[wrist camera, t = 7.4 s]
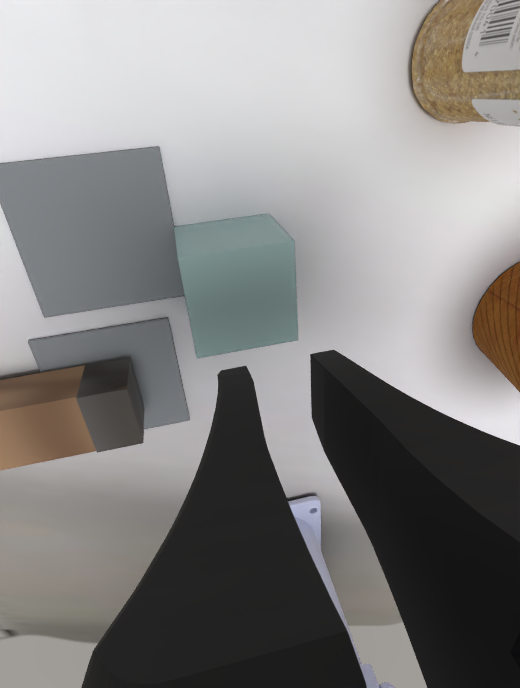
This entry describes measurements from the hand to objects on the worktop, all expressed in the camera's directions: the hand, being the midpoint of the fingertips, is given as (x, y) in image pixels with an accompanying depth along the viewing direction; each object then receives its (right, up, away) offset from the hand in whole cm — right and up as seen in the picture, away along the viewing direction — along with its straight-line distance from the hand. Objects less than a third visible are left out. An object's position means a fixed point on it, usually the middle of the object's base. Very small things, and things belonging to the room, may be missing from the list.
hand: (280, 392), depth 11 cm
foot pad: (-7, -1, +10) cm, 12 cm away
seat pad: (-7, +6, +6) cm, 11 cm away
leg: (-12, -2, +9) cm, 15 cm away
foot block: (-2, +5, +8) cm, 10 cm away
